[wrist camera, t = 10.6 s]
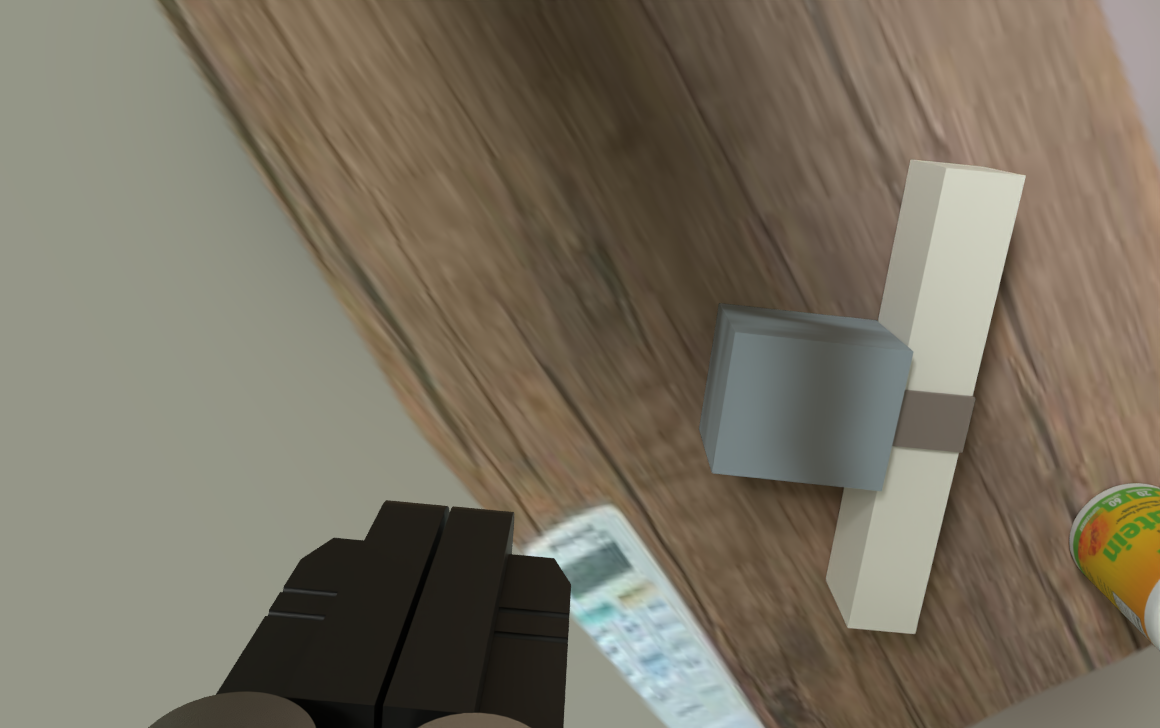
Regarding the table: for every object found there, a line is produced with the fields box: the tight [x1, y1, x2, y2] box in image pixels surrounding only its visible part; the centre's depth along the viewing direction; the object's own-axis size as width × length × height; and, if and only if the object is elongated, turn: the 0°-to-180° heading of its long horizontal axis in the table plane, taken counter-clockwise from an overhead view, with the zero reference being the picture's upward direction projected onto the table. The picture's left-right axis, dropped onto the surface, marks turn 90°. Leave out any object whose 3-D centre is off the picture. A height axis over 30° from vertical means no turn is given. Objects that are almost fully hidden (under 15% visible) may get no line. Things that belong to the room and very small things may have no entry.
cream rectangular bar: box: [826, 159, 1026, 634], centre depth 38 cm, size 3×20×4 cm, turn 175°
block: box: [699, 303, 913, 491], centre depth 38 cm, size 7×6×5 cm
